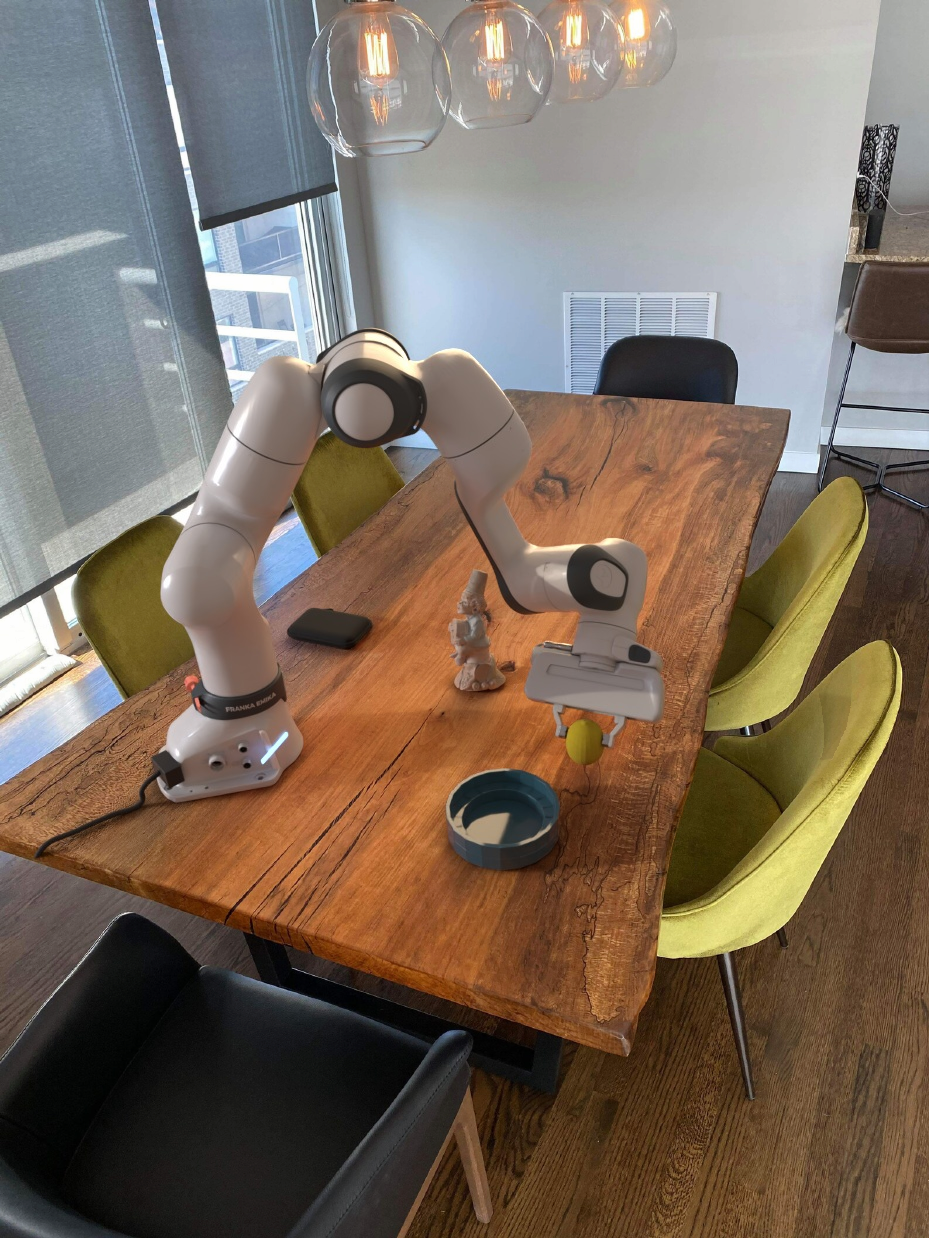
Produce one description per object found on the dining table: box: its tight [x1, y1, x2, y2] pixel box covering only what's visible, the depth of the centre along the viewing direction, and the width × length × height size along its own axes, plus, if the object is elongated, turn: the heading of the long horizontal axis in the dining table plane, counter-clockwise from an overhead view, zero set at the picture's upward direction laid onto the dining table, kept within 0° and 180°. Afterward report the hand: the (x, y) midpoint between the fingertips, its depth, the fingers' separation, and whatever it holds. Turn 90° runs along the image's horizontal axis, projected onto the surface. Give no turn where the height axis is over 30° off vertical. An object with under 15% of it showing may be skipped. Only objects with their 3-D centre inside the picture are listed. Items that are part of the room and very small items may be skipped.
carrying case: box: [286, 607, 374, 651], centre depth 170 cm, size 11×3×15 cm
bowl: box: [444, 767, 561, 871], centre depth 123 cm, size 15×15×4 cm
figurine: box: [447, 568, 506, 692], centre depth 150 cm, size 9×8×20 cm
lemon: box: [565, 718, 605, 766], centre depth 131 cm, size 6×6×8 cm
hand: (584, 742), depth 131 cm, fingers closed on lemon, 5 cm apart
